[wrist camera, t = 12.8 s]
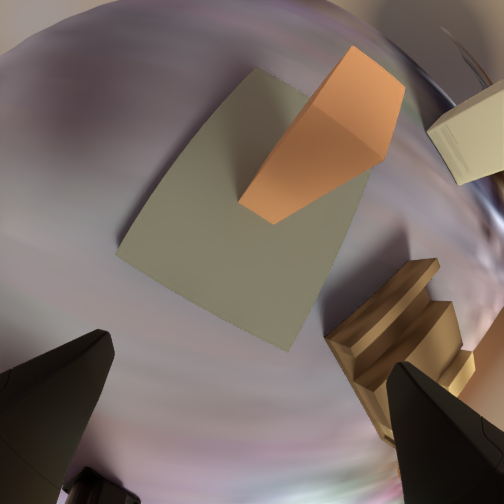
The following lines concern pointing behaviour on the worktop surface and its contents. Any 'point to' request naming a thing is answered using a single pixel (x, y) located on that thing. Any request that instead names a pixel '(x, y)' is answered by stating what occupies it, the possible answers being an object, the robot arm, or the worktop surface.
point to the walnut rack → (395, 337)
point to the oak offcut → (458, 372)
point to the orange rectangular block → (329, 138)
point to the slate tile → (241, 221)
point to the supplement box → (473, 135)
